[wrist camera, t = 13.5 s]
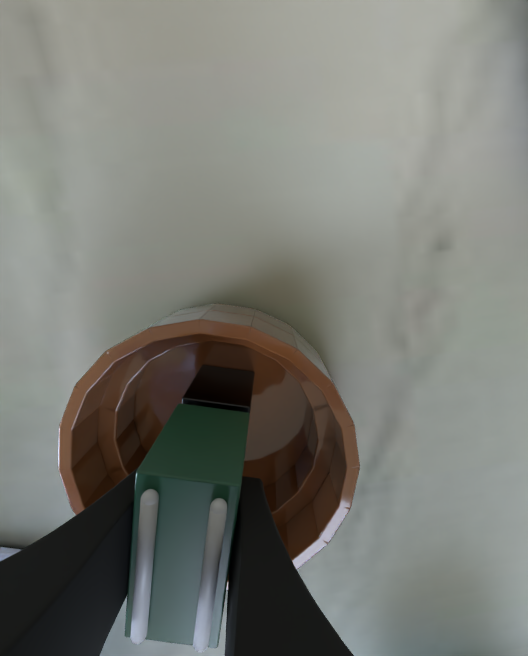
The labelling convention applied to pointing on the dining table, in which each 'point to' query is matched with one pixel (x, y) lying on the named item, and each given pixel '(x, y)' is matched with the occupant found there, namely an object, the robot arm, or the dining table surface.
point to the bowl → (264, 422)
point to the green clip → (185, 527)
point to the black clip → (221, 389)
